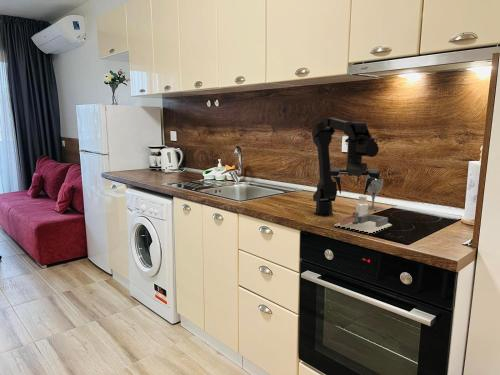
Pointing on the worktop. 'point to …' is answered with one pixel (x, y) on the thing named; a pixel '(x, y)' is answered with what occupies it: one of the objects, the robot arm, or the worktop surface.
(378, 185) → the wine glass
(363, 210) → the pepper shaker
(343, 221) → the locking bar
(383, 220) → the lock base
